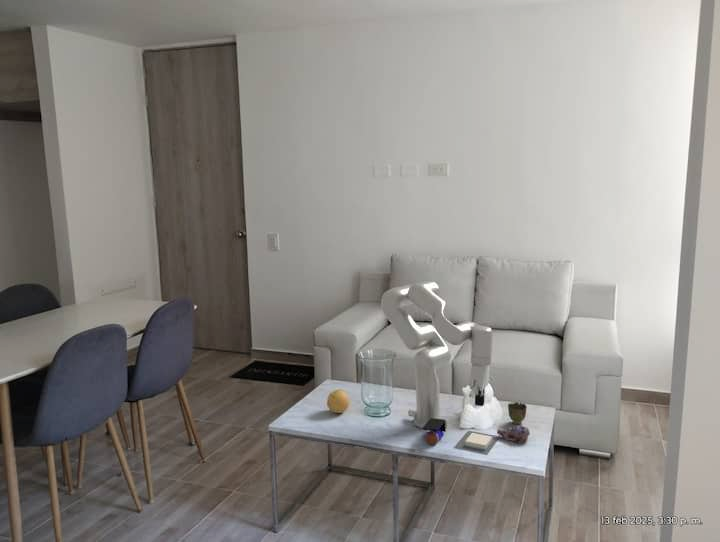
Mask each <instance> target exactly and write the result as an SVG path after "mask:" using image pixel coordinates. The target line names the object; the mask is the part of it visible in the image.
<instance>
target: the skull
mask: <svg viewBox="0 0 720 542" xmlns="http://www.w3.org/2000/svg"><path fill="white" fill-rule="evenodd" d="M496 434H497V435H498V436H500V437H501V439H503V440H506V441H515V443H517V444H521V443H525V442H527V441H528V439H529V436H530V434H531V433H530V429H529V427H526V426H522V425H515V426H512V427H509V428H499V429H497V431H496Z"/></svg>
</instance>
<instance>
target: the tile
mask: <svg viewBox="0 0 720 542" xmlns="http://www.w3.org/2000/svg"><path fill="white" fill-rule="evenodd" d="M491 443H492V437H491V436H486V435H481V434H475V433H472V434H471V435H470V436H469V437H468V438H467V440H466V441H465V446H467V447H472V448H477V449H482V450H486V449H487V448H488V447H489V445H490V444H491Z"/></svg>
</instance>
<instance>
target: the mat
mask: <svg viewBox="0 0 720 542" xmlns="http://www.w3.org/2000/svg"><path fill="white" fill-rule="evenodd" d="M472 433H475V434H481V435H486V436H491V437H492V443H491V444H490V445H489V447H488V448H487V449H486V450H482V449H477V448H472V447H467V446H465V441H466V440H467V438H468V437H469V436H470V435H471V434H472ZM500 438H501V436H499V435H494V434H489V433H483V432H478V431H472V430H467V432H465V434H463V436H462V437H461V438H460V440H459V441H457V443H456V444H455V445H454V447H453V449H456V450H461V451H465V452H470V453H475V454H479V455H480V454H481V455H485V456H488V454H489V453H490V452H491V450H492V449H493V448H494V446H495V445H496V443H497V442H498V441H499V440H500Z"/></svg>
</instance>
